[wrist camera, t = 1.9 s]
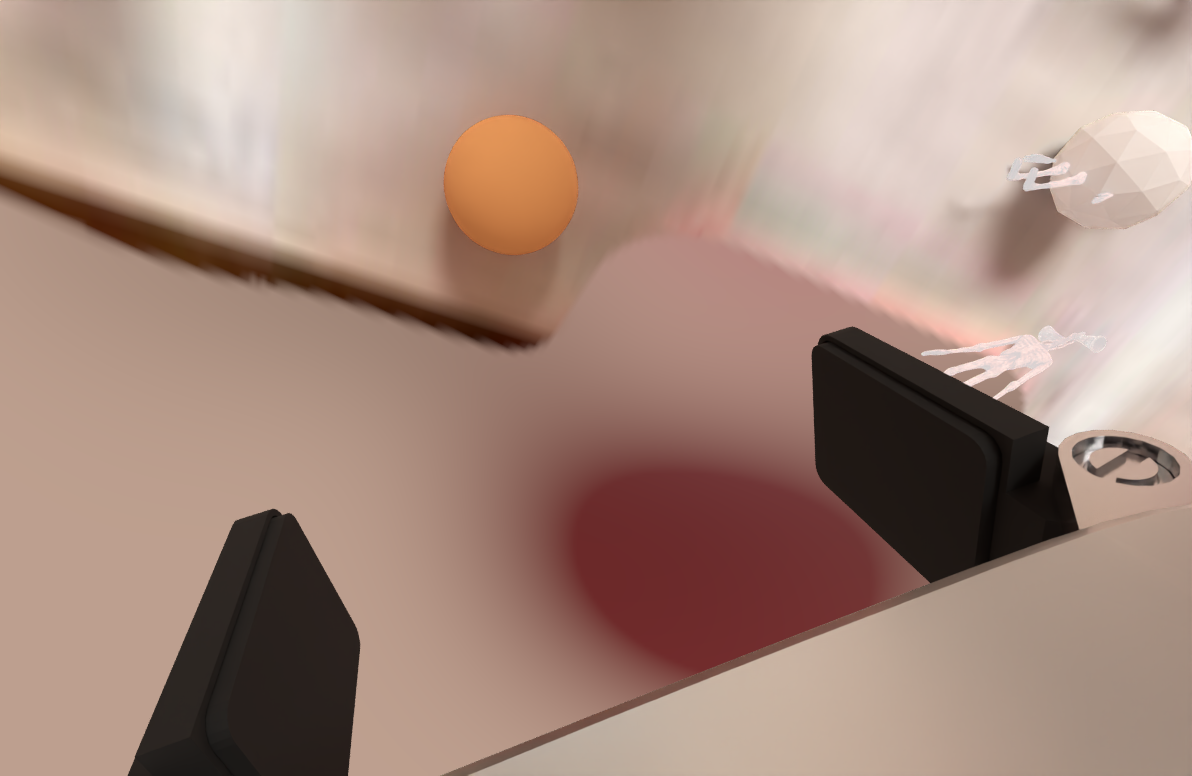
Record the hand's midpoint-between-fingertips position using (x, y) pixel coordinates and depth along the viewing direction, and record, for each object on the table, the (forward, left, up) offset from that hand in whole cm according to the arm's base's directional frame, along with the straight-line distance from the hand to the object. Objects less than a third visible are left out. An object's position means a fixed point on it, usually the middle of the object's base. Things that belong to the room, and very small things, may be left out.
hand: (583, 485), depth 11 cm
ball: (-2, -2, -18) cm, 18 cm away
